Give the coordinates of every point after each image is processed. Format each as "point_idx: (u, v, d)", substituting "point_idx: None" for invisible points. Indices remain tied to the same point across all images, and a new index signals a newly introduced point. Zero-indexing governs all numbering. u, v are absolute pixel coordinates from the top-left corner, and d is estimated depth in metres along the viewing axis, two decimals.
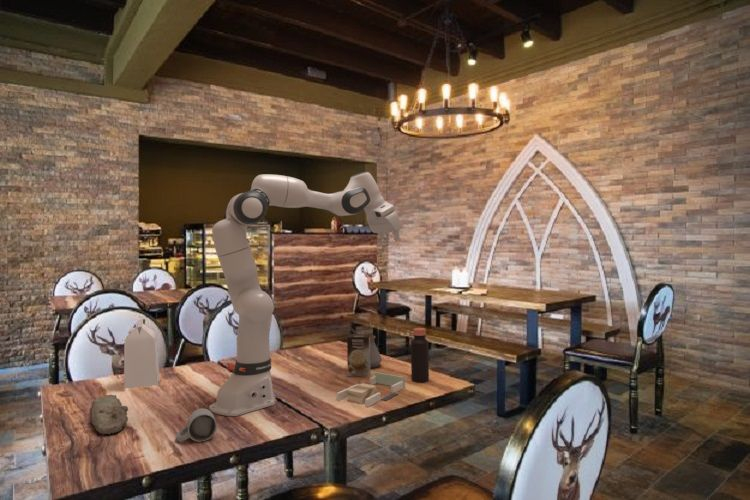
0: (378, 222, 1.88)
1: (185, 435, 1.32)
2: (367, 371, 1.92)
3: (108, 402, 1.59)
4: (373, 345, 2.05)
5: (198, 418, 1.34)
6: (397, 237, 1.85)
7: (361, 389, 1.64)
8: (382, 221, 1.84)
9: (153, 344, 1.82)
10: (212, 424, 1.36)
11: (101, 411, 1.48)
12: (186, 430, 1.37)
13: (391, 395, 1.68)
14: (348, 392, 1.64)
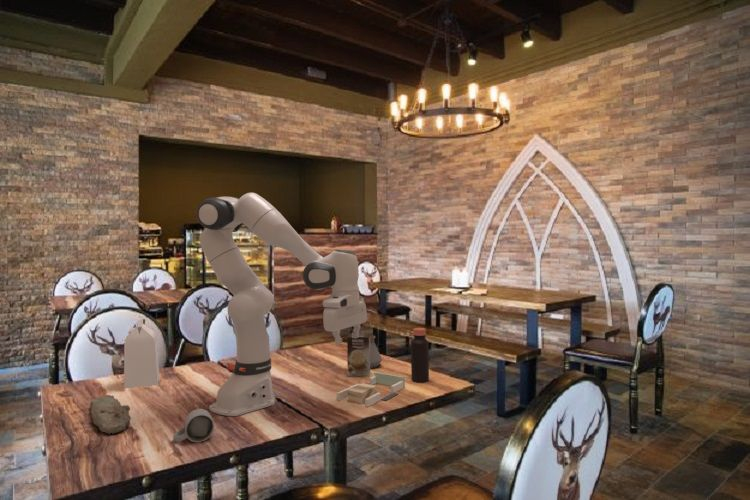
0: None
1: (182, 435, 1.32)
2: (367, 371, 1.92)
3: (107, 402, 1.59)
4: (373, 345, 2.05)
5: (195, 418, 1.33)
6: (337, 339, 1.53)
7: (361, 389, 1.64)
8: None
9: (153, 344, 1.82)
10: (209, 424, 1.36)
11: (102, 411, 1.48)
12: (183, 430, 1.37)
13: (391, 395, 1.68)
14: (348, 392, 1.64)
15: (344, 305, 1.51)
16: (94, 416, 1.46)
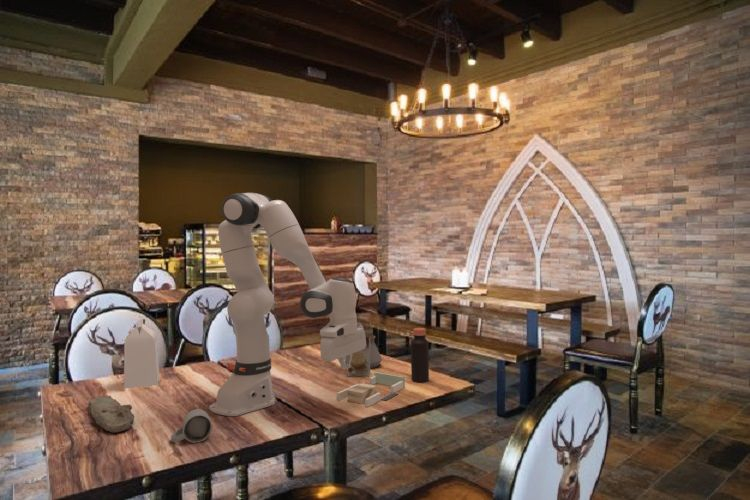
0: None
1: (180, 436, 1.31)
2: (367, 371, 1.92)
3: (105, 402, 1.59)
4: (373, 345, 2.05)
5: (193, 419, 1.33)
6: (342, 364, 1.56)
7: (361, 389, 1.64)
8: None
9: (153, 344, 1.82)
10: (207, 425, 1.35)
11: (104, 411, 1.48)
12: (181, 431, 1.36)
13: (391, 395, 1.68)
14: (348, 392, 1.64)
15: (341, 334, 1.51)
16: (96, 416, 1.46)
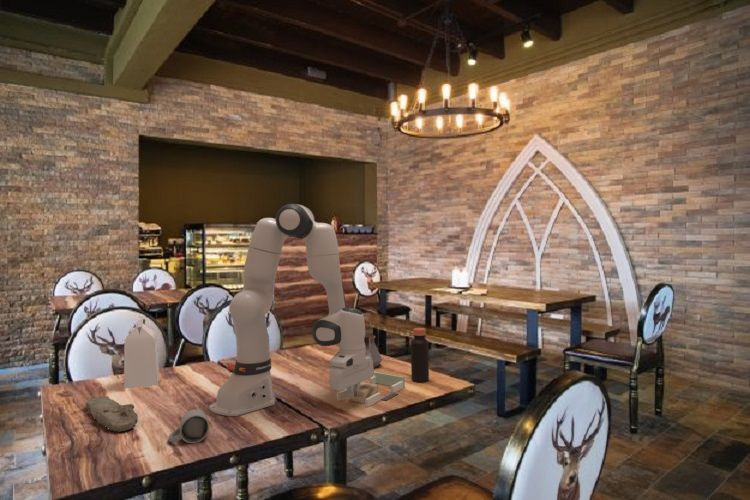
0: None
1: (177, 436, 1.31)
2: None
3: (104, 403, 1.59)
4: (373, 345, 2.05)
5: (190, 419, 1.33)
6: (350, 393, 1.60)
7: (363, 388, 1.64)
8: None
9: (153, 344, 1.82)
10: (205, 425, 1.35)
11: (106, 411, 1.49)
12: (179, 431, 1.36)
13: (391, 395, 1.68)
14: None
15: (350, 364, 1.55)
16: (98, 416, 1.46)
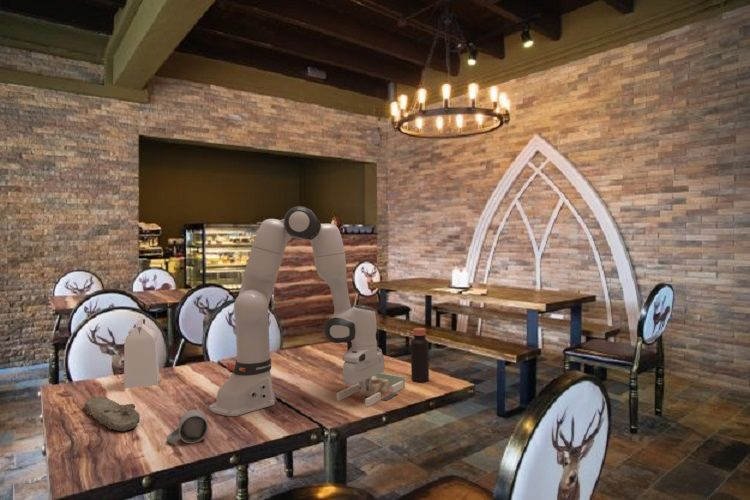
0: None
1: (176, 436, 1.31)
2: None
3: (103, 403, 1.58)
4: None
5: (189, 419, 1.33)
6: (362, 387, 1.66)
7: (374, 383, 1.70)
8: None
9: (153, 344, 1.82)
10: (203, 425, 1.35)
11: (106, 411, 1.49)
12: (177, 431, 1.36)
13: (391, 395, 1.68)
14: None
15: (362, 360, 1.60)
16: (99, 416, 1.46)
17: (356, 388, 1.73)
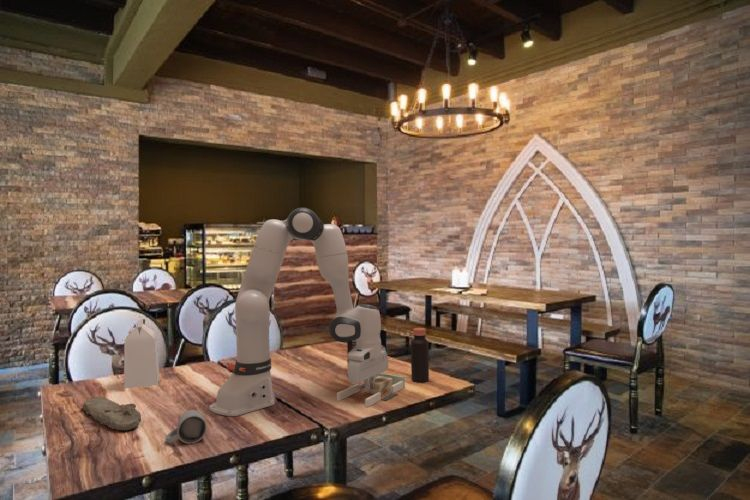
0: None
1: (174, 437, 1.31)
2: None
3: (102, 403, 1.58)
4: None
5: (188, 420, 1.33)
6: (366, 385, 1.68)
7: (378, 381, 1.72)
8: None
9: (153, 344, 1.82)
10: (202, 426, 1.35)
11: (107, 411, 1.49)
12: (176, 432, 1.36)
13: (391, 395, 1.68)
14: None
15: (367, 358, 1.63)
16: (100, 416, 1.46)
17: (356, 388, 1.73)
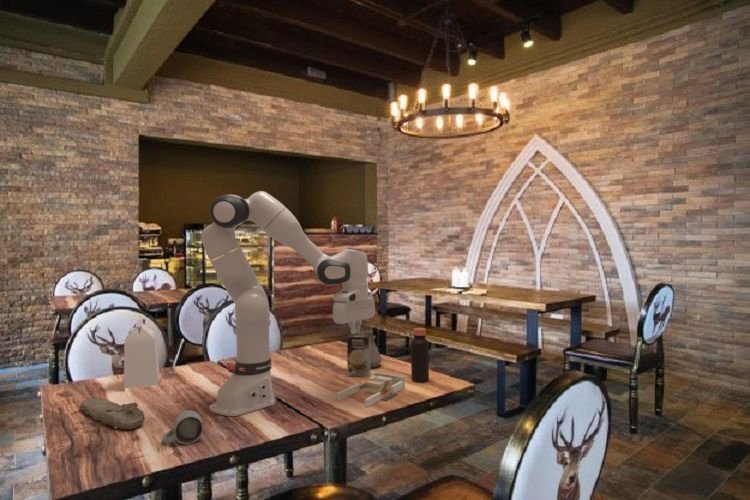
0: None
1: (171, 437, 1.30)
2: (367, 371, 1.92)
3: (101, 404, 1.58)
4: (373, 345, 2.05)
5: (184, 420, 1.32)
6: (352, 329, 1.67)
7: (379, 381, 1.72)
8: None
9: (153, 344, 1.82)
10: (199, 426, 1.35)
11: (109, 410, 1.49)
12: (173, 432, 1.36)
13: (391, 395, 1.68)
14: (366, 384, 1.72)
15: (353, 300, 1.62)
16: (102, 416, 1.46)
17: (356, 388, 1.73)
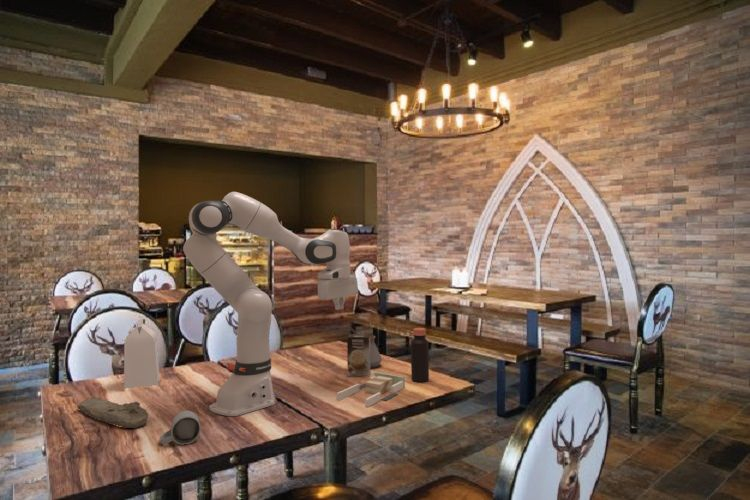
0: None
1: (168, 438, 1.30)
2: (367, 371, 1.92)
3: (100, 404, 1.58)
4: (373, 345, 2.05)
5: (182, 421, 1.32)
6: (336, 305, 1.78)
7: (379, 381, 1.72)
8: None
9: (153, 344, 1.82)
10: (196, 427, 1.34)
11: (111, 410, 1.49)
12: (170, 433, 1.35)
13: (391, 395, 1.68)
14: (366, 384, 1.72)
15: (336, 277, 1.73)
16: (105, 415, 1.47)
17: (356, 388, 1.73)
